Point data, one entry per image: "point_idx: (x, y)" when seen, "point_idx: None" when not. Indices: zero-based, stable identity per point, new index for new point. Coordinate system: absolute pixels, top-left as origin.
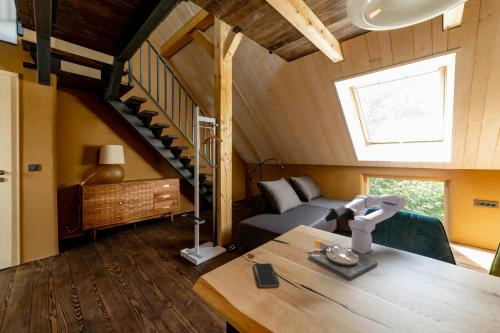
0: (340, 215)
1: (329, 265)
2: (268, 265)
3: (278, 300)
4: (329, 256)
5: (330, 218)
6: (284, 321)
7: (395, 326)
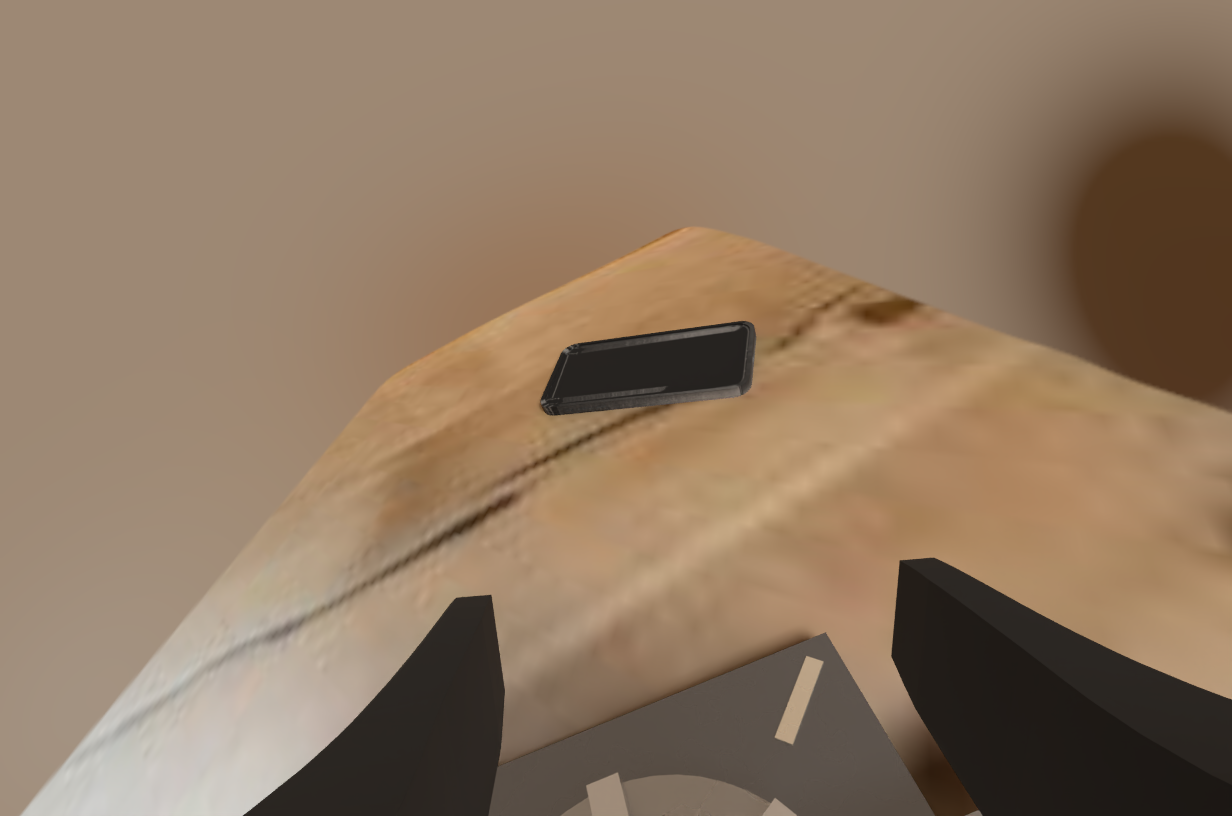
0: (437, 647)
1: (581, 738)
2: (729, 376)
3: (469, 405)
4: (656, 776)
5: (975, 738)
6: (380, 411)
7: (48, 793)
